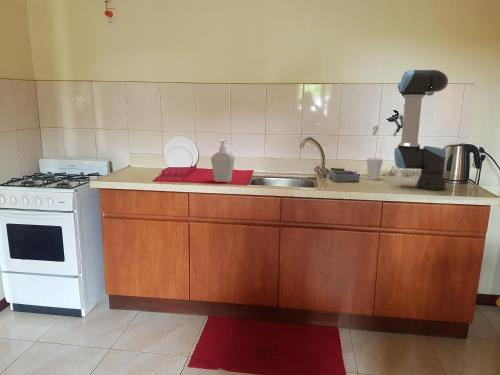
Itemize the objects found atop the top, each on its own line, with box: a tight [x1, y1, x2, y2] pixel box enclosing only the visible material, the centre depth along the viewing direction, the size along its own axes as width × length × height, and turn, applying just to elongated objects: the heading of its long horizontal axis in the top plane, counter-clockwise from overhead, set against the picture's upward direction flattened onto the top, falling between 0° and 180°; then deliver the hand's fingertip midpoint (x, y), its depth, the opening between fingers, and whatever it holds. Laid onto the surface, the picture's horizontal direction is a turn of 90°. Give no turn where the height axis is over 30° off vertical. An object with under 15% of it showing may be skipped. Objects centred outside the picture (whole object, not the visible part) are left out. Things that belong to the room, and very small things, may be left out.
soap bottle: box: [210, 138, 235, 183], centre depth 228 cm, size 12×10×26 cm
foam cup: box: [366, 157, 383, 181], centre depth 240 cm, size 10×9×13 cm
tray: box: [328, 170, 360, 183], centre depth 237 cm, size 15×15×4 cm
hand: (383, 134), depth 243 cm, fingers open, 13 cm apart
